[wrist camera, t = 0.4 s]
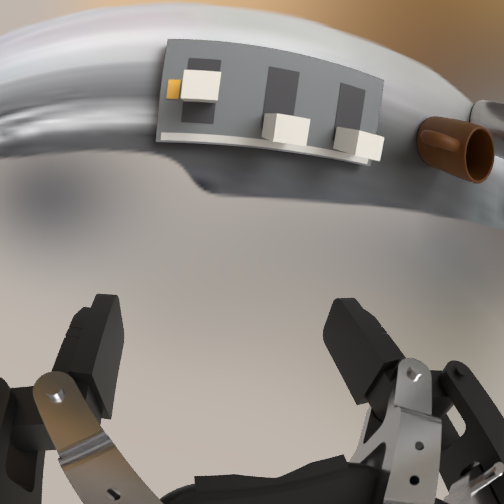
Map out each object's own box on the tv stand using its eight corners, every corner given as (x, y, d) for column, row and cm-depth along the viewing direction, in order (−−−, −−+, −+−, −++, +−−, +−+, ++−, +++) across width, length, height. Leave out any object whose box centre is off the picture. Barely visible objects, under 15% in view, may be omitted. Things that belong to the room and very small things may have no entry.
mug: (387, 156, 33) (435, 174, 25) (394, 101, 29) (445, 105, 21) (444, 169, 35) (489, 188, 27) (451, 123, 32) (498, 134, 23)
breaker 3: (359, 132, 28) (384, 137, 24) (356, 153, 30) (379, 161, 25) (336, 126, 28) (359, 130, 24) (333, 148, 29) (354, 155, 25)
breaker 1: (217, 79, 24) (221, 71, 20) (214, 103, 25) (217, 100, 21) (186, 77, 23) (184, 69, 19) (184, 101, 24) (180, 98, 20)
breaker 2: (293, 117, 27) (310, 119, 22) (289, 140, 28) (306, 146, 24) (264, 113, 26) (277, 113, 22) (261, 136, 27) (273, 141, 23)
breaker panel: (375, 80, 28) (384, 80, 26) (361, 163, 33) (370, 166, 31) (169, 43, 23) (167, 38, 21) (158, 140, 28) (155, 142, 26)
